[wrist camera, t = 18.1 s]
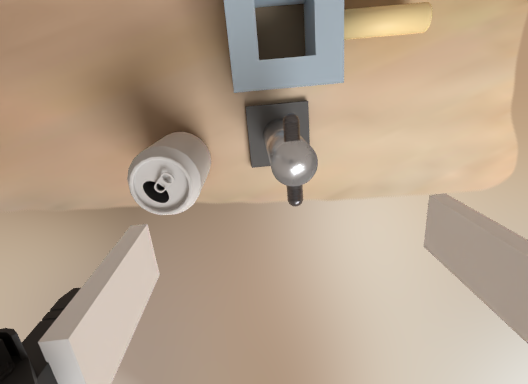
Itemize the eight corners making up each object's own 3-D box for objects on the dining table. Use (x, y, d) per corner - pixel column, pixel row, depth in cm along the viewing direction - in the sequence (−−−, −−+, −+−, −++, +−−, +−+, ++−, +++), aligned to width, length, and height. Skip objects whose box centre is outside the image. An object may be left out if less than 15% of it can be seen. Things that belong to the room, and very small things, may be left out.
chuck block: (236, 91, 39) (234, 92, 33) (223, -20, 35) (219, -40, 29) (407, 75, 39) (434, 74, 33) (415, -37, 35) (447, -59, 29)
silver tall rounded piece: (266, 167, 42) (274, 211, 28) (260, 103, 39) (267, 116, 25) (295, 164, 42) (318, 207, 28) (292, 100, 39) (316, 111, 25)
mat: (251, 166, 42) (251, 167, 42) (245, 106, 39) (245, 107, 39) (309, 160, 42) (310, 161, 42) (307, 100, 40) (308, 101, 39)
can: (144, 160, 41) (105, 190, 30) (178, 118, 40) (150, 133, 28) (189, 195, 43) (168, 235, 32) (223, 156, 42) (214, 183, 30)
